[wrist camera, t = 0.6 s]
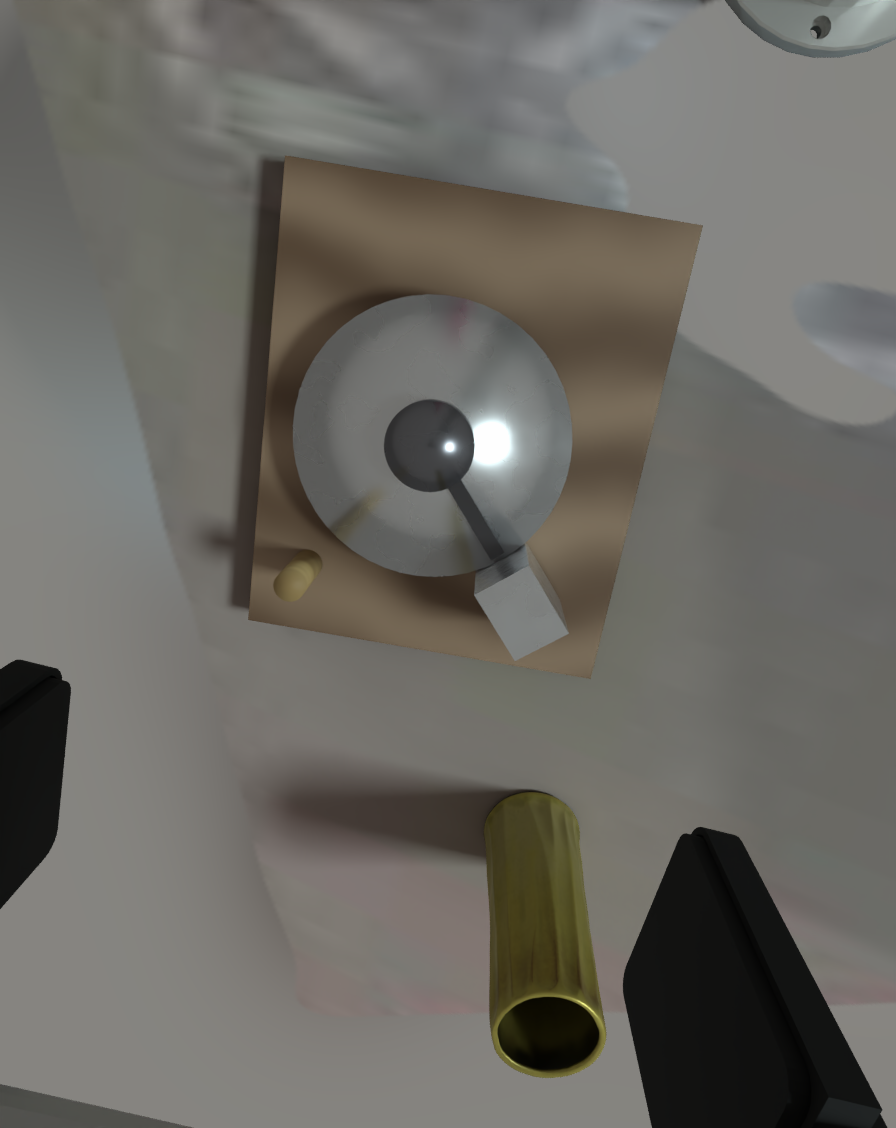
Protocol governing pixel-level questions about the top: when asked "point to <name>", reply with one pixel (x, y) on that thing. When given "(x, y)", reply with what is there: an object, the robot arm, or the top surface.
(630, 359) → the base plate
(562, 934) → the vase
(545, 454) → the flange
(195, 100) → the top surface
